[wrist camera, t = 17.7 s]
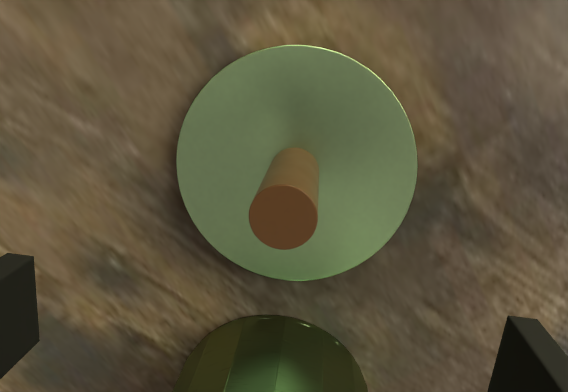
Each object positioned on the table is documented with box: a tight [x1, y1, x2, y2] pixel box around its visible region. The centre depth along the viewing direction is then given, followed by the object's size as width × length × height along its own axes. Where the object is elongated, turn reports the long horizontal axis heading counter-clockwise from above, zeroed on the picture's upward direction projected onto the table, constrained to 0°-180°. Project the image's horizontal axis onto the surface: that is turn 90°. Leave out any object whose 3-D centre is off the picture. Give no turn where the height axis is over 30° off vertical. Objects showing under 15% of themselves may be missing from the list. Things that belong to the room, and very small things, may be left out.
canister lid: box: [176, 45, 418, 281], centre depth 26 cm, size 16×16×10 cm
